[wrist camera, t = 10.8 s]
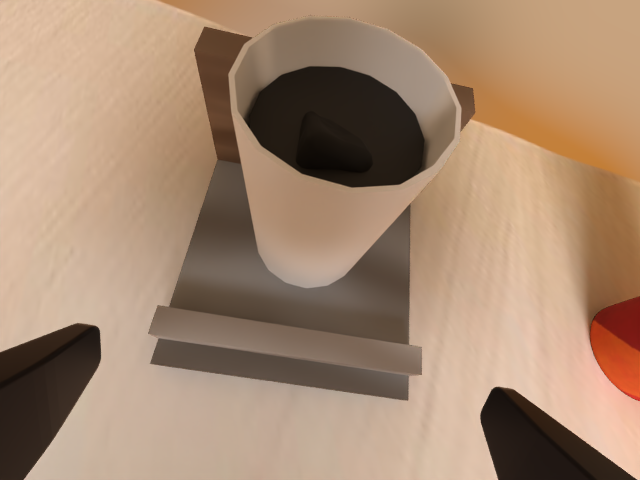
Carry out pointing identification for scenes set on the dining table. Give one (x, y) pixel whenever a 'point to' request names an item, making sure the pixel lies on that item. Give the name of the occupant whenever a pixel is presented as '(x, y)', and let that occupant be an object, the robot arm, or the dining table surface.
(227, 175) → the holder
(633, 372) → the paper cup
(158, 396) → the dining table surface
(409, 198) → the white cup
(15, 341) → the dining table surface
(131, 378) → the dining table surface
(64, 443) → the dining table surface
